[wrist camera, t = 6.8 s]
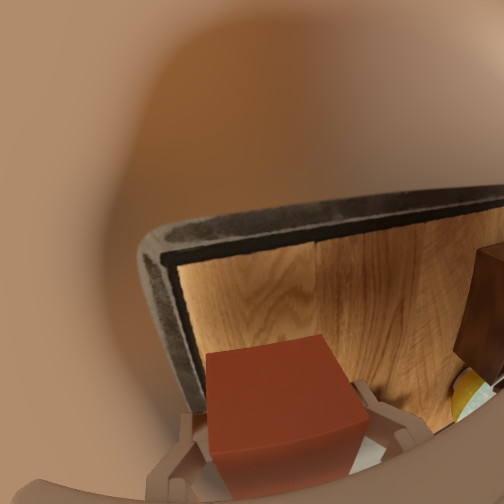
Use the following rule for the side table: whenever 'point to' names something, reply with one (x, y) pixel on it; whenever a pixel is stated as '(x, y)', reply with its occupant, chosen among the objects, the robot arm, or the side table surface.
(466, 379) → the bowl
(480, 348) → the chest
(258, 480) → the block
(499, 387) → the lid
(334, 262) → the side table surface
